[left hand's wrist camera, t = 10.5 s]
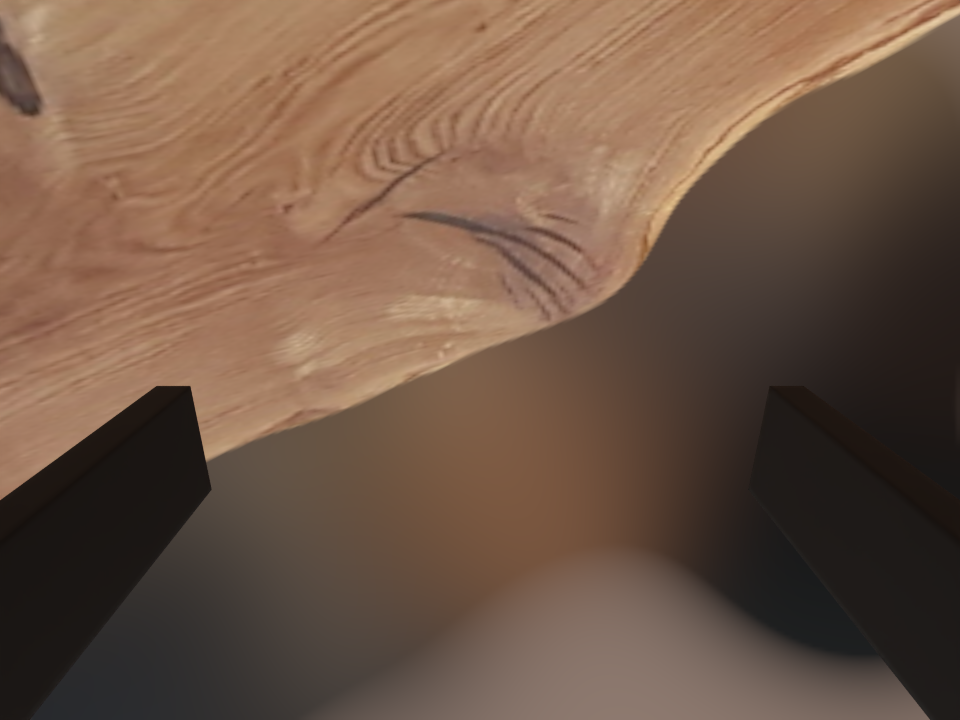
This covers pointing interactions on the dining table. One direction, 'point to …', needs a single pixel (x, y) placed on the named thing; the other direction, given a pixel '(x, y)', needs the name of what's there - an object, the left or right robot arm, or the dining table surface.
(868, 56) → the dining table surface
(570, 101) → the dining table surface
